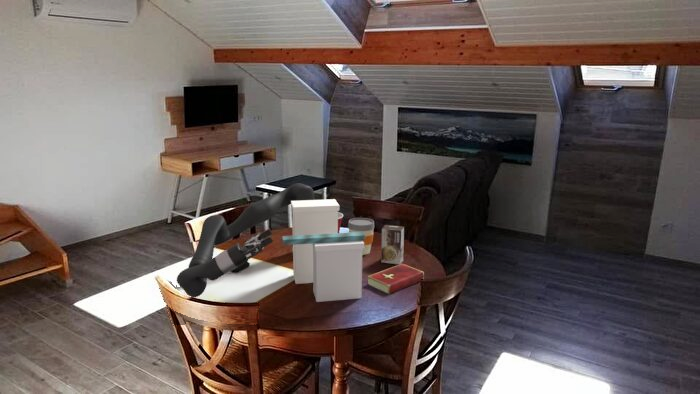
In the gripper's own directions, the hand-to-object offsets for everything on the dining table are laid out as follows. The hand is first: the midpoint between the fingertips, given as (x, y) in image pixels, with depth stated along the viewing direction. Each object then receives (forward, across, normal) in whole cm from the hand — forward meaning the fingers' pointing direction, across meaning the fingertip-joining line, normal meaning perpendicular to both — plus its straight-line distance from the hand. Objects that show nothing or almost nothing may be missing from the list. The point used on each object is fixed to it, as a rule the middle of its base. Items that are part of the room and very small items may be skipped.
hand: (271, 234), depth 168 cm
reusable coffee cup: (+25, +44, +44) cm, 67 cm away
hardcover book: (+30, +7, +48) cm, 57 cm away
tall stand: (+3, +17, +31) cm, 36 cm away
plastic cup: (+17, +68, +39) cm, 80 cm away
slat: (+15, 0, +12) cm, 19 cm away
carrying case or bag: (-27, +34, +14) cm, 46 cm away
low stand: (+8, 0, +34) cm, 35 cm away
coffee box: (+35, +29, +50) cm, 67 cm away
